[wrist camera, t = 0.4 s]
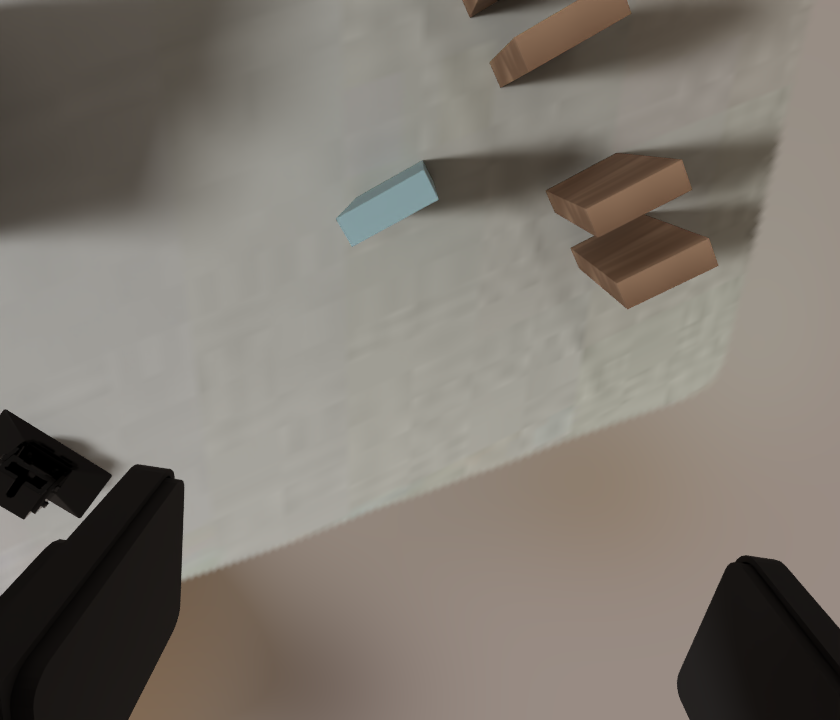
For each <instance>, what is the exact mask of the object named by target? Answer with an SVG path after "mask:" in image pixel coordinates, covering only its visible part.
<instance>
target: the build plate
mask: <svg viewBox="0 0 840 720" xmlns="http://www.w3.org/2000/svg"><path fill="white" fill-rule="evenodd" d="M111 477H112V475H111V474H110V473H108V472H107V471H105V470H103V469H102V468H100V467H98V466H97V465H95V464H94V463H92V462H90V461H89V460H87V459H86V458H84V457H82V456H81V455H79V454H77V453H76V452H74V451H73V450H71V449H69V448H68V447H66V446H64V445H63V444H61V443H60V442H58V441H56V440H55V439H53V438H52V437H50V436H48V435H47V434H45V433H43V432H42V431H40V430H39V429H37V428H35V427H34V426H32V425H30V424H29V423H27V422H26V421H24V420H22V419H21V418H19V417H18V416H16V415H14V414H13V413H11V412H9V411H8V410H6V409H5V410H3V411H2V413H1V414H0V506H1V507H3V508H5V509H6V510H8V511H10V512H12V513H13V514H15V515H17V516H18V517H20V518H22V519H25V518H26V517H27V516H28V515H29V514H30V513H31V512H33V513H34V514H36V513H37V512H38V511H39V510H40V509H41V508H42V507H43V508H45V507H46V506H47V505H48V504H49V503H48V501H51V502H53V503H54V504H56V505H58V506H59V507H61V508H63V509H64V510H66V511H68V512H69V513H71V514H73V515H74V516H76V517H78V518H81V517H82V516H83V514H84V513H85V512H86V510H87V509H88V508H89V506H90V505H91V504H92V502H93V501H94V499H95V498H96V497H97V495H98V494H99V493H100V491H101V490H102V489H103V487H104V486H105V485H106V483H107V482H108V481H109V479H110V478H111Z"/></svg>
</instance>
